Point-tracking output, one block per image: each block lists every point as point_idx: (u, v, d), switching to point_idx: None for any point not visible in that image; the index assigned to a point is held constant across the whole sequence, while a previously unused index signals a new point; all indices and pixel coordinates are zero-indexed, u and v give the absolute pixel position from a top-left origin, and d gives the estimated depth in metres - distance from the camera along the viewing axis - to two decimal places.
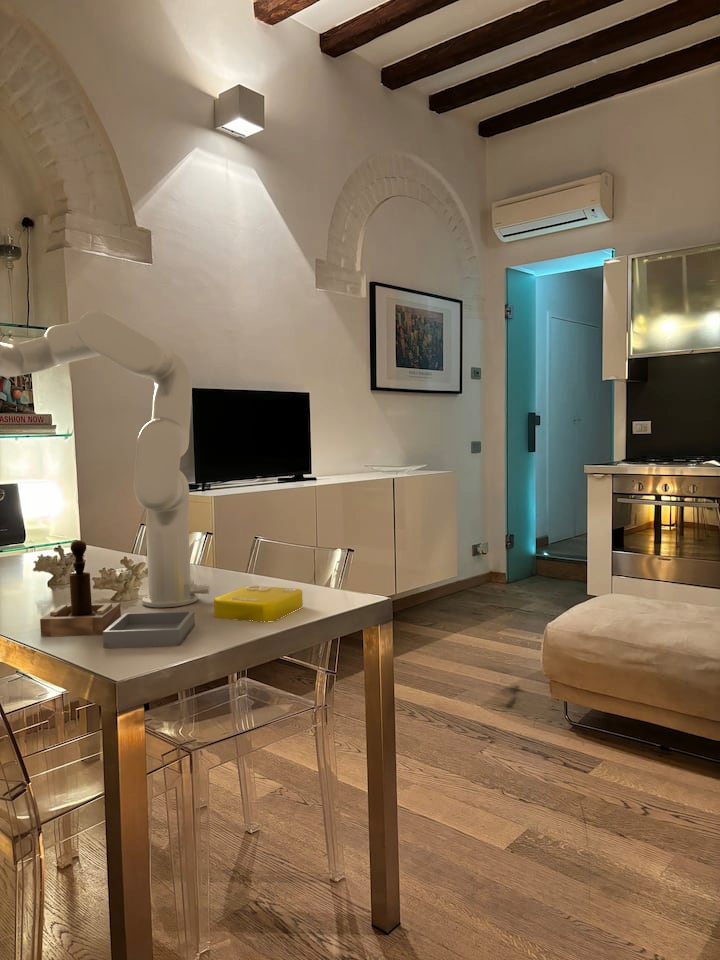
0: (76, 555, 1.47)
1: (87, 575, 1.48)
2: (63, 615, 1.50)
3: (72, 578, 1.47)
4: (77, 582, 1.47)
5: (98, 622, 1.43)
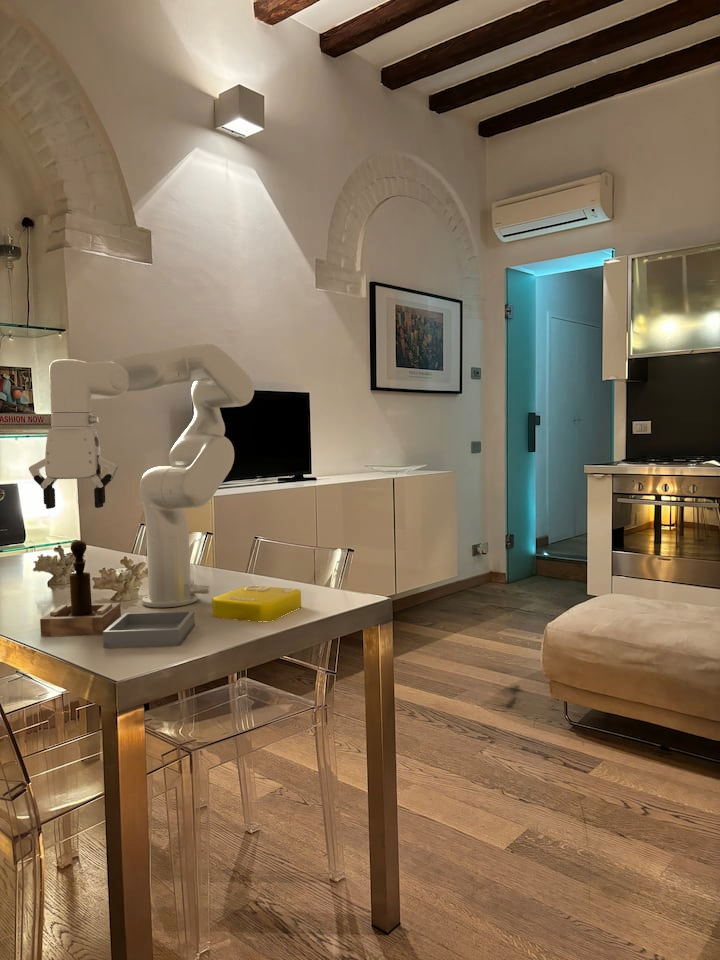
0: (76, 555, 1.47)
1: (87, 575, 1.48)
2: (63, 615, 1.50)
3: (72, 578, 1.47)
4: (77, 582, 1.47)
5: (98, 622, 1.43)
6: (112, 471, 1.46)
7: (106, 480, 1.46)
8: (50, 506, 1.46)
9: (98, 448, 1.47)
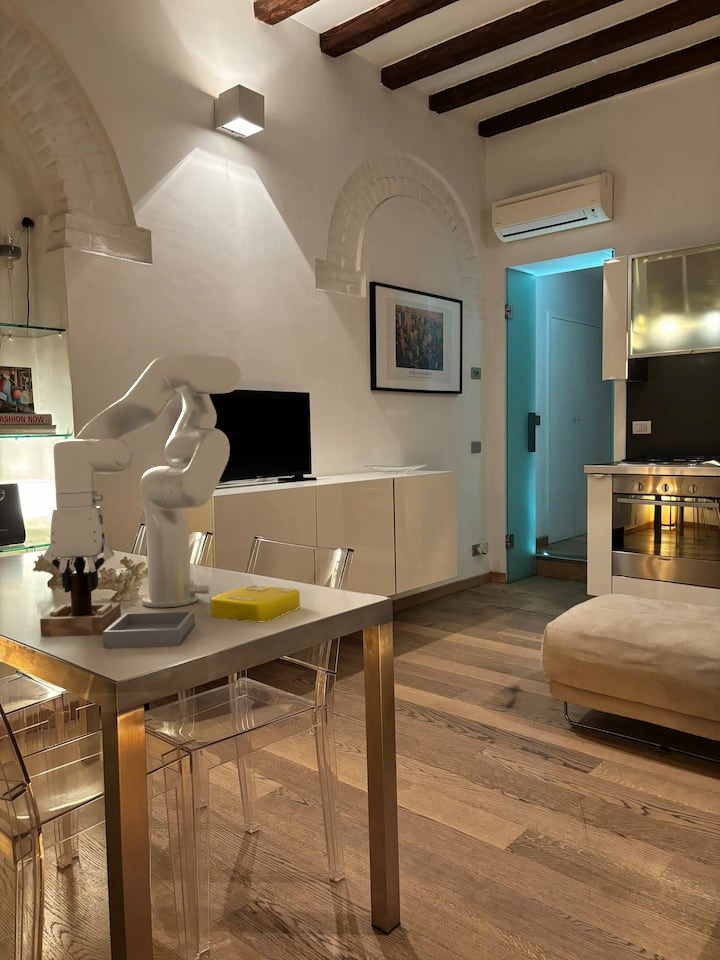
0: None
1: None
2: (63, 615, 1.50)
3: (72, 578, 1.47)
4: (77, 582, 1.47)
5: (98, 622, 1.43)
6: (107, 558, 1.48)
7: (99, 564, 1.48)
8: (69, 590, 1.47)
9: (103, 526, 1.48)
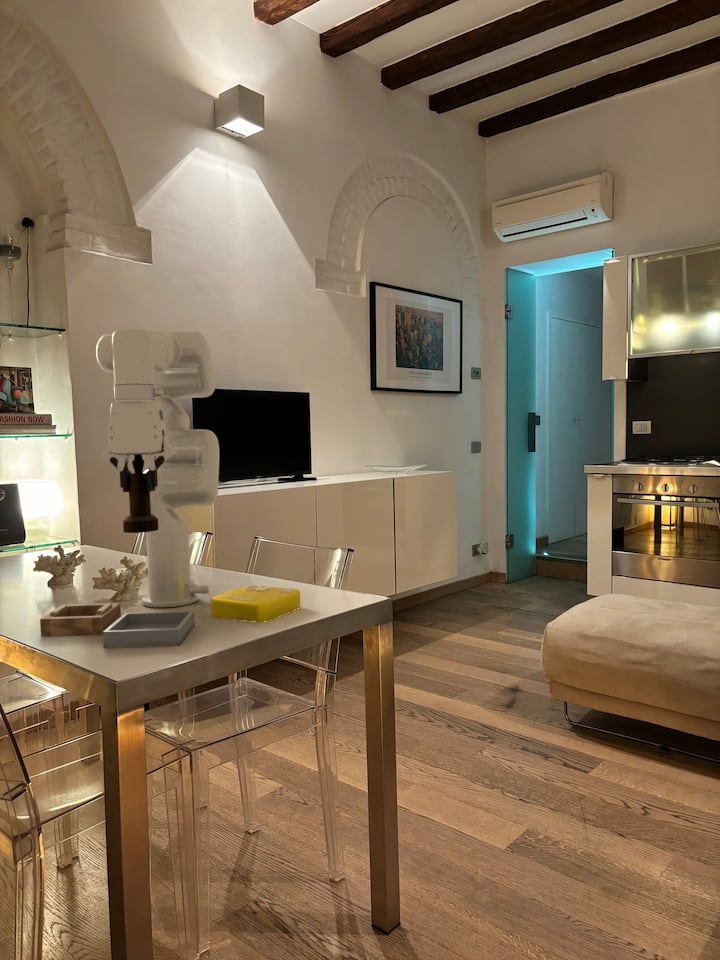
0: None
1: (146, 474, 1.39)
2: (63, 615, 1.50)
3: (131, 476, 1.38)
4: (136, 480, 1.38)
5: (98, 622, 1.43)
6: (167, 456, 1.39)
7: (159, 462, 1.39)
8: (127, 489, 1.39)
9: (163, 422, 1.40)
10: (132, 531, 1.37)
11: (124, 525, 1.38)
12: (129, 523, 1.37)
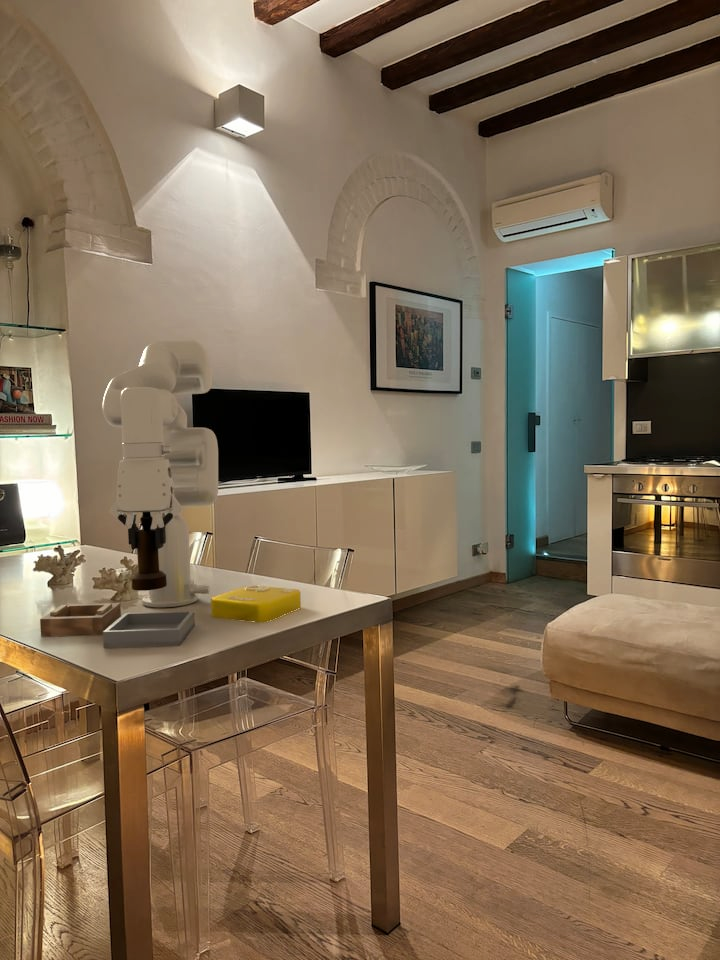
0: None
1: None
2: (63, 615, 1.50)
3: (139, 534, 1.38)
4: (144, 538, 1.38)
5: (98, 622, 1.43)
6: (176, 513, 1.39)
7: (167, 519, 1.39)
8: (135, 546, 1.39)
9: (171, 479, 1.40)
10: (141, 589, 1.37)
11: (133, 582, 1.38)
12: (138, 581, 1.37)
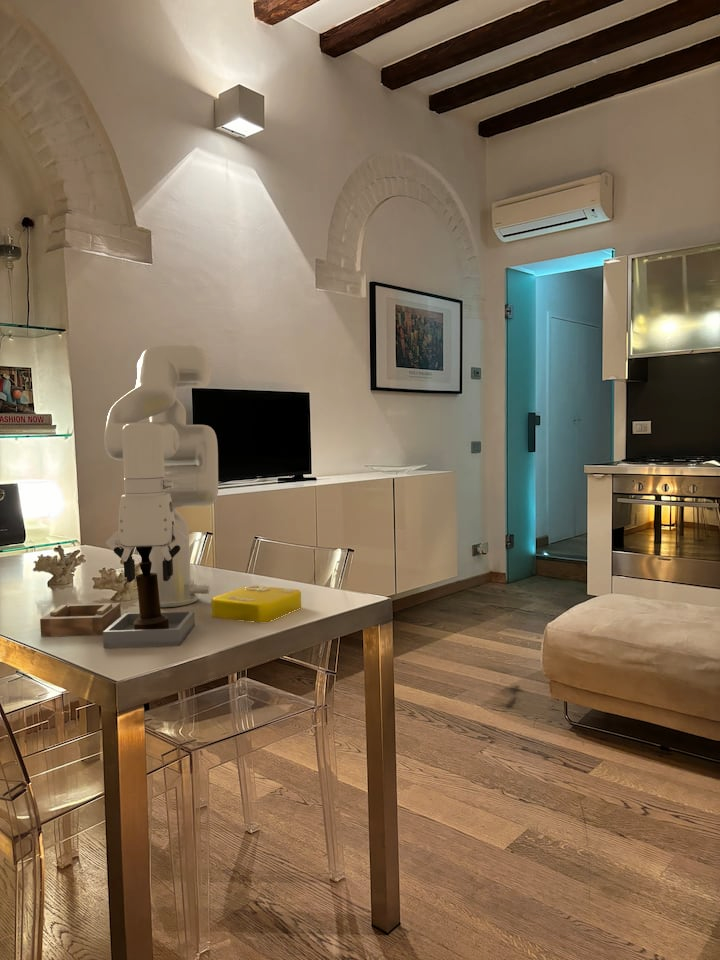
0: (143, 555, 1.39)
1: (155, 576, 1.40)
2: (63, 615, 1.50)
3: (139, 580, 1.39)
4: (144, 583, 1.39)
5: (98, 622, 1.43)
6: (182, 544, 1.40)
7: (174, 552, 1.40)
8: (131, 579, 1.40)
9: (172, 513, 1.41)
10: None
11: (135, 628, 1.39)
12: (140, 626, 1.38)
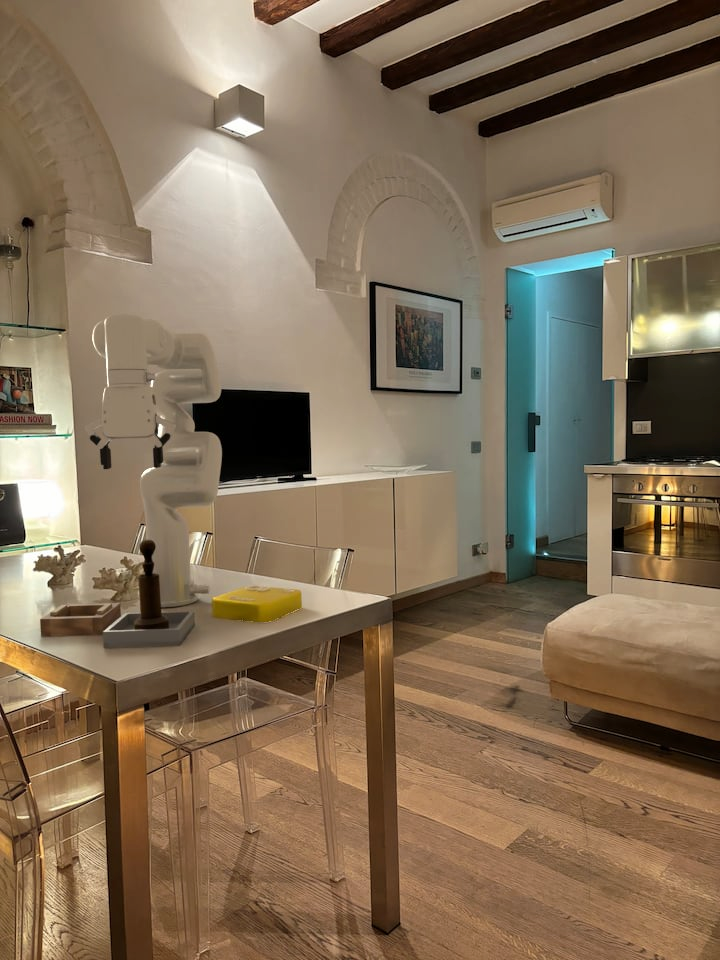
0: (146, 555, 1.40)
1: (157, 576, 1.40)
2: (63, 615, 1.50)
3: (141, 580, 1.39)
4: (146, 584, 1.39)
5: (98, 622, 1.43)
6: (171, 430, 1.42)
7: (165, 439, 1.42)
8: (107, 466, 1.42)
9: (155, 406, 1.43)
10: None
11: (135, 628, 1.39)
12: (140, 626, 1.38)
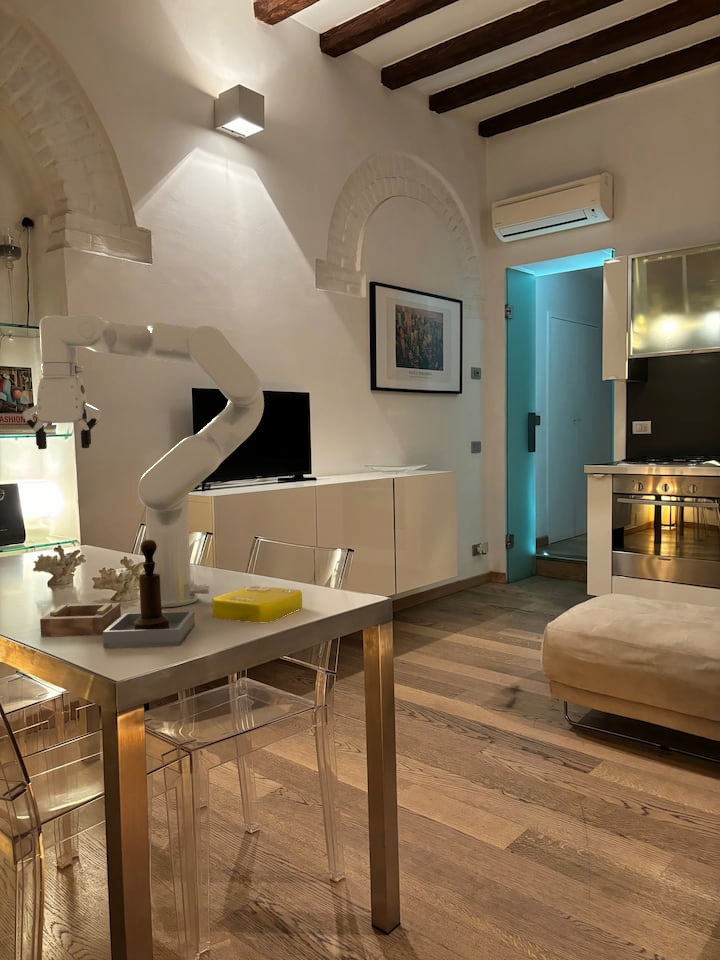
0: (147, 555, 1.40)
1: (158, 576, 1.40)
2: (63, 615, 1.50)
3: (142, 580, 1.39)
4: (147, 583, 1.39)
5: (98, 622, 1.43)
6: (97, 415, 1.65)
7: (91, 423, 1.64)
8: (42, 447, 1.64)
9: (84, 395, 1.65)
10: None
11: (135, 628, 1.39)
12: (140, 626, 1.38)
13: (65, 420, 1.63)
